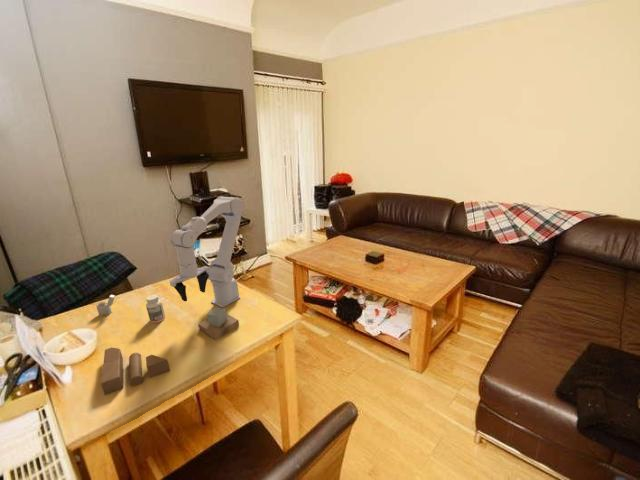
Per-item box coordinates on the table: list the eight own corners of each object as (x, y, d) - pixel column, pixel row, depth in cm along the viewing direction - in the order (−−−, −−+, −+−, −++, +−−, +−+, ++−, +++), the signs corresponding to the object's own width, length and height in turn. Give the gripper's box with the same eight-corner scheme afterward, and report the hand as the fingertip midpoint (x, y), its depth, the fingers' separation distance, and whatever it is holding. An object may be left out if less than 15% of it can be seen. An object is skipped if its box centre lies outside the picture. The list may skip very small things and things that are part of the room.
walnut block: (222, 318, 122) (221, 311, 121) (239, 327, 117) (238, 320, 116) (199, 331, 115) (198, 324, 114) (216, 341, 109) (214, 334, 108)
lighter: (99, 315, 127) (93, 298, 124) (101, 313, 128) (95, 295, 126) (117, 313, 127) (112, 296, 125) (119, 311, 129) (114, 294, 126)
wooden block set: (98, 383, 86) (102, 346, 100) (104, 399, 88) (107, 360, 102) (166, 359, 93) (161, 328, 108) (170, 374, 95) (164, 341, 110)
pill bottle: (153, 315, 125) (147, 294, 121) (167, 314, 125) (162, 292, 122) (147, 324, 120) (141, 301, 116) (162, 322, 120) (156, 300, 117)
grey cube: (217, 317, 117) (215, 307, 116) (227, 320, 116) (225, 309, 114) (209, 324, 114) (207, 313, 112) (219, 327, 112) (217, 316, 110)
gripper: (198, 253, 121) (204, 285, 126) (162, 267, 110) (169, 301, 115) (209, 257, 117) (215, 289, 122) (173, 271, 106) (180, 307, 111)
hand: (193, 295), depth 118 cm, fingers open, 7 cm apart
